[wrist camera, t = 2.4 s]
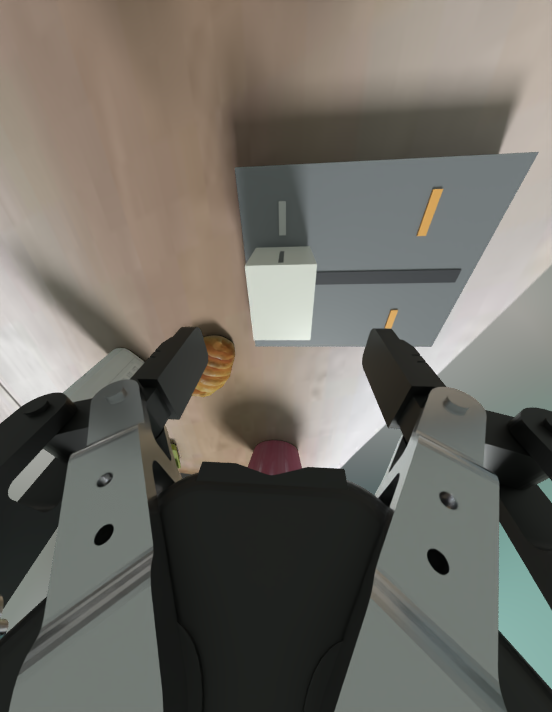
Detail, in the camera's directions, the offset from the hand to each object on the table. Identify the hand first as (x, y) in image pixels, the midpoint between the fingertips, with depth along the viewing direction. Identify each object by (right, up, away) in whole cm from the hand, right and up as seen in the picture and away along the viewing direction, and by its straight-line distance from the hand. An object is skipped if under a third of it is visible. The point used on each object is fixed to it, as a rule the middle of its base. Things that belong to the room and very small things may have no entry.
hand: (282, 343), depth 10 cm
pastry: (-10, -1, +18) cm, 20 cm away
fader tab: (0, +6, +7) cm, 9 cm away
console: (+6, +8, +9) cm, 14 cm away
